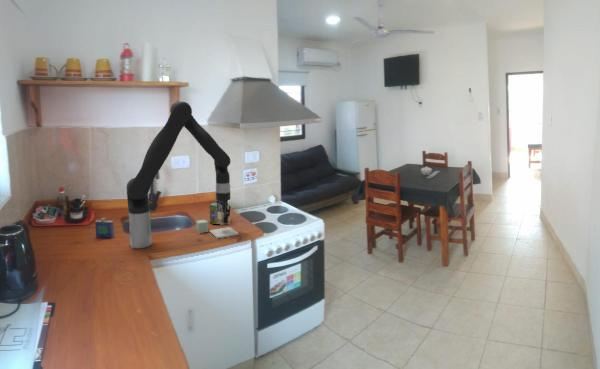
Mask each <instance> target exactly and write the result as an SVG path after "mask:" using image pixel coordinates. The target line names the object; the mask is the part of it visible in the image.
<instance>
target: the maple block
mask: <svg viewBox="0 0 600 369" xmlns="http://www.w3.org/2000/svg"><path fill="white" fill-rule="evenodd" d="M226 214H227V213H226ZM223 217H224V216H223V212H222V211H221V212H218V223H219V224H220V226H226V225H231V215H230V216H228V223H224V219H223ZM225 224H226V225H225Z"/></svg>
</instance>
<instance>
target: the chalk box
mask: <svg viewBox="0 0 600 369" xmlns="http://www.w3.org/2000/svg"><path fill="white" fill-rule="evenodd" d="M215 201H216V202H214V201H213V202H212V203H211V204H210V205H209V207H208V208H209V224H219V223H218V209H217V201H218V200H215ZM224 211H225V210H224Z"/></svg>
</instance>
